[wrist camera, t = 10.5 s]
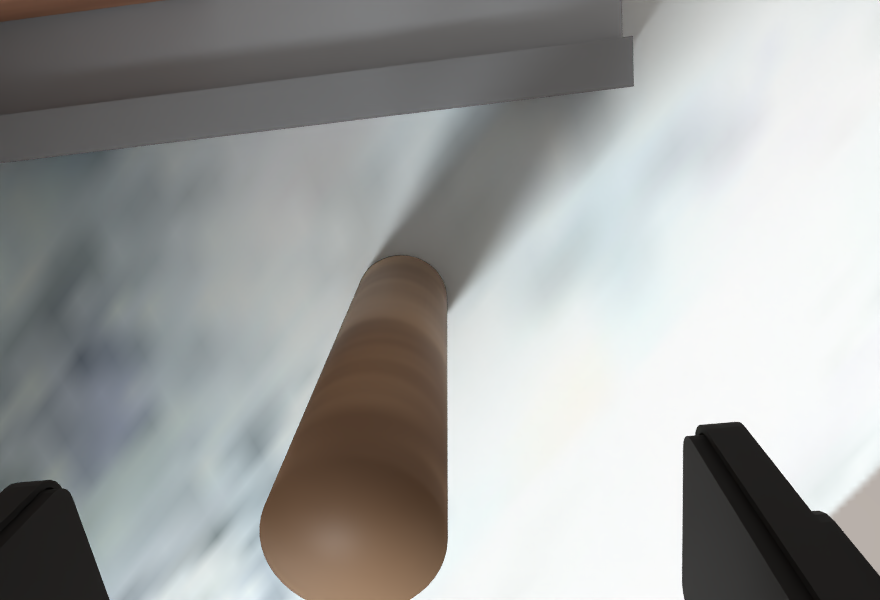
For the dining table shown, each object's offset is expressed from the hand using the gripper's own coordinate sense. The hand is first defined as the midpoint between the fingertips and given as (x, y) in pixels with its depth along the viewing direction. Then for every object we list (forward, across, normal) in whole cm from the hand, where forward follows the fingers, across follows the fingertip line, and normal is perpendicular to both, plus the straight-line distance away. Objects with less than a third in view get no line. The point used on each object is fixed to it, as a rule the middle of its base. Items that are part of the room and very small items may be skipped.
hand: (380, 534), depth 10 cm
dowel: (+12, +1, 0) cm, 12 cm away
